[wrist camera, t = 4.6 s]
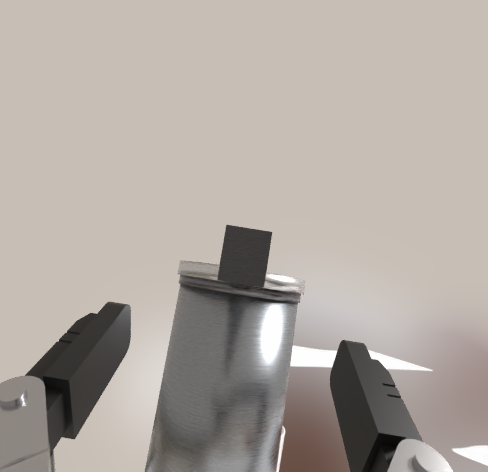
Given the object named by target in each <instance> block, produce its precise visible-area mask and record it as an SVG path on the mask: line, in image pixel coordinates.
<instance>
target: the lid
mask: <svg viewBox="0 0 488 472" xmlns="http://www.w3.org/2000/svg"><path fill="white" fill-rule="evenodd" d="M271 236H272V232H269V231H262V230H256V229H249V228H243V227H236V226H231V225H227V226H226V232H225V237H224V243H223V249H222V255H221V261H220V265H216V264H209V263H201V262H192V261H180V265H179V270H178V274H180V275H187V276H193V277H199V278H205V279H212V280H218V281H224V282H230V283H237V284H243V285H249V286H255V287H261V288H268V289H274V290H280V291H286V292H292V293H298V294H304V287H305V281H304V280H301V279H296V278H292V277H288V276H283V275H277V274H272V273H267V272H266V270H267V263H268V256H269V250H270V243H271Z"/></svg>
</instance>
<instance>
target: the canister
mask: <svg viewBox="0 0 488 472" xmlns="http://www.w3.org/2000/svg"><path fill="white" fill-rule="evenodd" d="M179 283H180V289H179V295H178V299H177V305H176V310H175V315H174V321H173V326H172V331H171V336H170V341H169V347H168V352H167V358H166V362H165V368H164V373H163V379H162V384H161V389H160V394H159V399H158V405H157V410H156V415H155V420H154V426H153V432H152V436H151V442H150V447H149V452H148V457H147V463H146V468H145V472H276V471H277V463H278V455H279V447H280V440H281V432H282V423H283V416H284V408H285V400H286V392H287V384H288V376H289V368H290V361H291V353H292V345H293V337H294V329H295V321H296V313H297V305H298V303H299V302H300V296H301V294H298V293H292V292H286V291H280V290H274V289H268V288H261V287H255V286H249V285H243V284H237V283H230V282H224V281H218V280H212V279H205V278H199V277H193V276H187V275H180V280H179Z"/></svg>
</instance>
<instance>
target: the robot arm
mask: <svg viewBox="0 0 488 472" xmlns="http://www.w3.org/2000/svg"><path fill="white" fill-rule="evenodd" d="M130 329H131V310H130V306H129V305H127V304H120V303H114V302H108V303H107V304H105V306H104V307H103V308H102V309H101V310H100V311H99V312H98V314H94V313H90V314H88V315H86V316H85V317H83V318H81V319H79V320H77V321H76V322H75V324H74V325H73V326H72V327H71V328H70V329H69V330H68V331H67V333H65V334H64V335H63V336H62V337H61V338H60V339H59V342H56V343H55V345H53V347H52V348H51V349H50V350H49V351H48V352H47V353H46V354H45V355H44V356H43V357H42V358H41V359H40V360H39V361H38V362H37V364H35V366H34V367H33V368H32V369H31V370H30V371H29V372H28V373H27V374H26V375H25V376H20V377H15V378H12V379H9V380H7V381H4V382H2V383H1V384H0V472H55V463H54V451H53V449H54V448H55V446H56V445H57V443H58V442H59V440H60V438H61V437H65V438H71V439H75V438H76V436H77V434H78V433H79V431H80V429H81V428H82V426H83V424H84V423H85V421H86V419H87V417H88V416H89V415H90V412H91V411H92V409H93V408H94V406H95V405H96V403H97V401H98V400H99V398H100V396H101V395H102V393H103V391H104V390H105V388H106V386H107V385H108V383H109V381H110V380H111V378H112V376H113V375H114V373H115V371H116V370H117V368H118V366H119V365H120V363H121V362H122V360H123V358H124V356H125V355H126V353H127V350H128V348H129V343H130V337H131V336H130V335H131V331H130ZM330 387H331V392H332V396H333V401H334V405H335V408H336V413H337V417H338V421H339V426H340V430H341V434H342V438H343V442H344V446H345V450H346V455H347V459H348V462H349V467H350V471H351V472H453V471H452V469H451V467H450V466H449V464H448V463H447V461H446V460H445V459H444V458H443V457H442V456H441V455H440V454H439V453H438V452H437V451H436V450H435V449H433V448H432V447H431V446H429V445H427V444H425V443H424V442H423V441H422V438H421V436H420V435H419V432H418V430H417V428H416V426H415V424H414V422H413V420H412V418H411V416H410V414H409V412H408V410H407V408H406V406H405V404H404V402H403V400H402V399H401V396H400V394H399V392H398V390H397V388H395V383H394V381H393V380H392V377H391V375H390V374H389V372H388V371H387V370H386V368H385V367H384V366H383V365H382V364H381V363H380V362H379V361H378V360H374V359H371V357H370V355H369V352H368V350H367V348H366V346H365V345H364V344H363V343H358V342H352V341H346V340H343V341H341V343H340V345H339V348H338V351H337V355H336V358H335V361H334V364H333V367H332V370H331V375H330Z"/></svg>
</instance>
